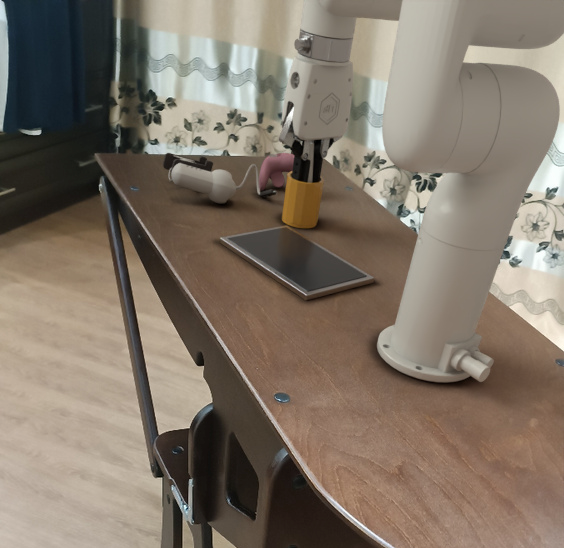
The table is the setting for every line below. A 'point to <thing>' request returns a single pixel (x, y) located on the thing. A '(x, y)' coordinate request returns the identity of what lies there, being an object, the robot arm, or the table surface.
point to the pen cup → (302, 202)
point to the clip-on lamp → (206, 177)
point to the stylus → (310, 157)
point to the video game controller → (275, 169)
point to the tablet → (296, 261)
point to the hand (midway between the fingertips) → (305, 182)
